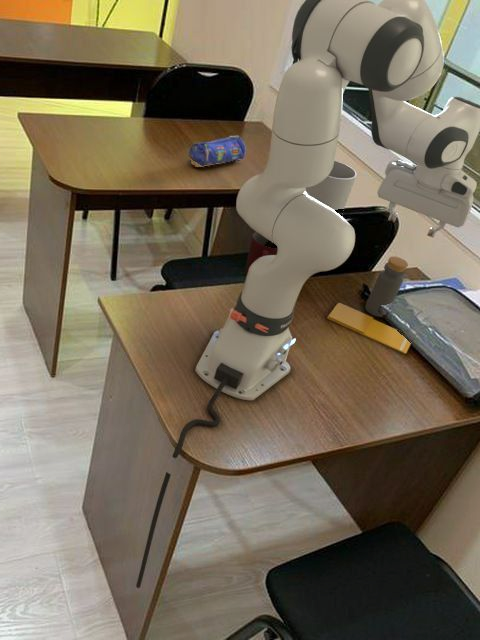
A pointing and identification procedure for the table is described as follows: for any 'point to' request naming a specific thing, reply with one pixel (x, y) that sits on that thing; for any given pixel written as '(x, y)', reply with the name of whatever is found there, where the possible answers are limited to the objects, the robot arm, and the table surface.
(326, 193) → the cylinder vase
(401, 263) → the bottle
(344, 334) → the table surface
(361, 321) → the flat rectangular block
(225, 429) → the table surface
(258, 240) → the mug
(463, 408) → the table surface
